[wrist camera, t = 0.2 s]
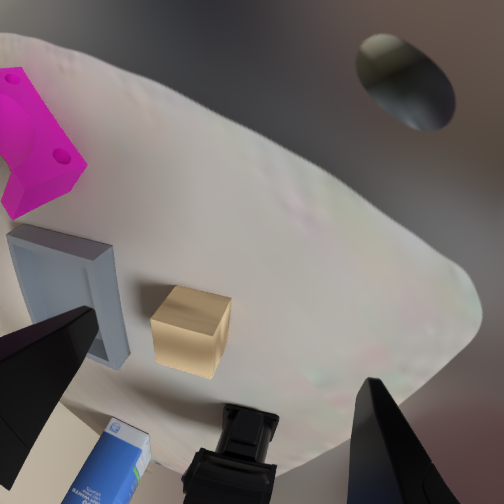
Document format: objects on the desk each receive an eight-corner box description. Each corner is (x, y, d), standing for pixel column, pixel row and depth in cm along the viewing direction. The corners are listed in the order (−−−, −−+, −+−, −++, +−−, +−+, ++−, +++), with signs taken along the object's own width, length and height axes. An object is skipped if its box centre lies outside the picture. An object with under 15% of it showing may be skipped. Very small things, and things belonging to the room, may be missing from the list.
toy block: (1, 111, 22) (-51, 124, 16) (22, 66, 20) (-35, 73, 13) (61, 206, 26) (6, 237, 19) (89, 164, 23) (25, 189, 16)
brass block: (228, 340, 28) (211, 379, 23) (178, 327, 29) (156, 362, 24) (231, 297, 25) (212, 336, 21) (176, 284, 26) (150, 318, 22)
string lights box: (111, 415, 43) (44, 527, 20) (151, 434, 42) (89, 555, 20) (119, 443, 49) (68, 536, 26) (153, 458, 48) (105, 556, 26)
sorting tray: (130, 353, 32) (118, 370, 30) (48, 318, 34) (35, 331, 32) (112, 245, 26) (93, 260, 23) (23, 223, 28) (5, 234, 25)
